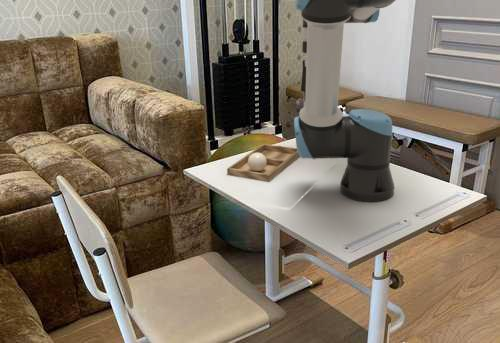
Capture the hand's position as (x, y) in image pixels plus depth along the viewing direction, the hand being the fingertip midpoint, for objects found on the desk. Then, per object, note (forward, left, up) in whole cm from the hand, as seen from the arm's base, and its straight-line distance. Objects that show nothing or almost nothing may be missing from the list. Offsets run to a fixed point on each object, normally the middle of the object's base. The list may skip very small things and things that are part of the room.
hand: (312, 107), depth 171 cm
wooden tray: (+8, +21, -16) cm, 27 cm away
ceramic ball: (+8, +27, -15) cm, 32 cm away
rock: (0, 0, -1) cm, 1 cm away
